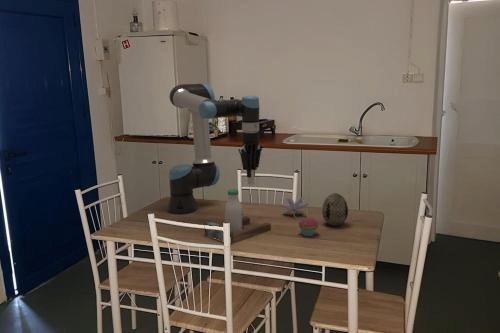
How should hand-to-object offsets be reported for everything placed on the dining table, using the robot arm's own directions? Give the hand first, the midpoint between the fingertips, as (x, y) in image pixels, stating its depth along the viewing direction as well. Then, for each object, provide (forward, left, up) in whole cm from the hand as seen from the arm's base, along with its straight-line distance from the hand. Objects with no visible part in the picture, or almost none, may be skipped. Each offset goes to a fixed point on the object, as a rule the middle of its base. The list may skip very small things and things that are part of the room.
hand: (250, 183), depth 201 cm
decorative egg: (+25, +29, -21) cm, 44 cm away
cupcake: (+24, +11, -21) cm, 34 cm away
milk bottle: (+1, -11, -21) cm, 24 cm away
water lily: (+3, +27, -21) cm, 34 cm away
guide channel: (0, -9, -21) cm, 22 cm away
